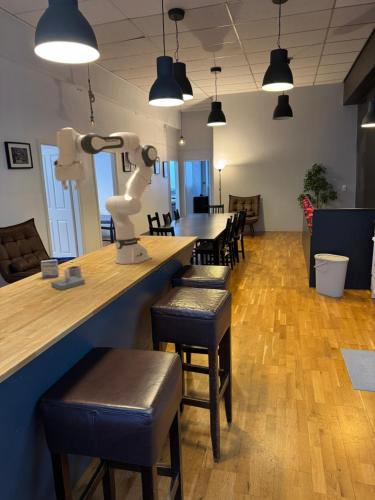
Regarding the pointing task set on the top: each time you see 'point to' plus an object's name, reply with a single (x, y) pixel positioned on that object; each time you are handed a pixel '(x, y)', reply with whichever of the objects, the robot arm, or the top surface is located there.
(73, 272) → the tube
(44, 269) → the medicine box
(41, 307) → the top surface
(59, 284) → the shaft block
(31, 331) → the top surface
